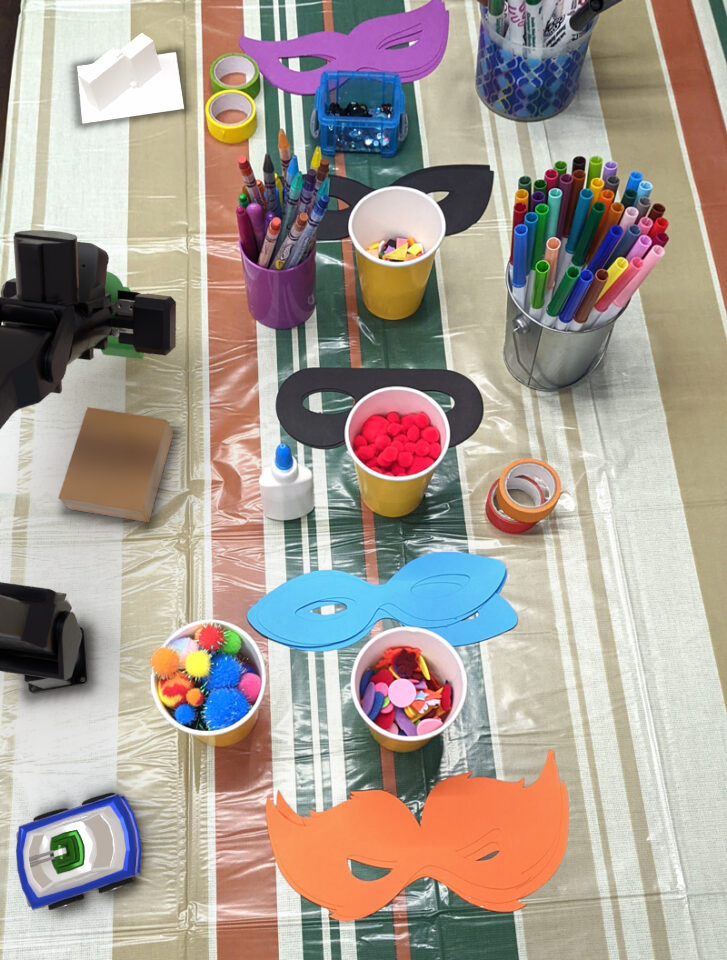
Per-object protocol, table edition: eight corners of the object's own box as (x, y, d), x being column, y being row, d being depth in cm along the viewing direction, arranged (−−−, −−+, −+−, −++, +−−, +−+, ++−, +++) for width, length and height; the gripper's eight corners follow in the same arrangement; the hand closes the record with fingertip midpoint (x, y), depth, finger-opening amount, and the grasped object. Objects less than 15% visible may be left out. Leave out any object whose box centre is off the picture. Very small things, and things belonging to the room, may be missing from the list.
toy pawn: (142, 359, 109) (114, 301, 97) (103, 354, 109) (70, 296, 97) (151, 324, 111) (125, 263, 99) (112, 320, 111) (81, 258, 99)
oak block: (149, 522, 106) (141, 511, 103) (68, 509, 107) (58, 498, 103) (173, 432, 111) (166, 419, 107) (96, 420, 111) (87, 406, 108)
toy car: (24, 823, 94) (-12, 823, 86) (134, 786, 96) (110, 783, 87) (39, 915, 91) (4, 925, 82) (153, 876, 92) (130, 882, 84)
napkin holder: (82, 124, 128) (70, 94, 123) (76, 66, 133) (63, 34, 127) (185, 108, 129) (177, 77, 124) (175, 51, 134) (167, 18, 128)
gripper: (151, 263, 87) (195, 240, 101) (-33, 242, 87) (35, 222, 102) (152, 372, 91) (193, 335, 105) (-24, 351, 92) (41, 317, 106)
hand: (116, 301), depth 104 cm, fingers closed on toy pawn, 4 cm apart
